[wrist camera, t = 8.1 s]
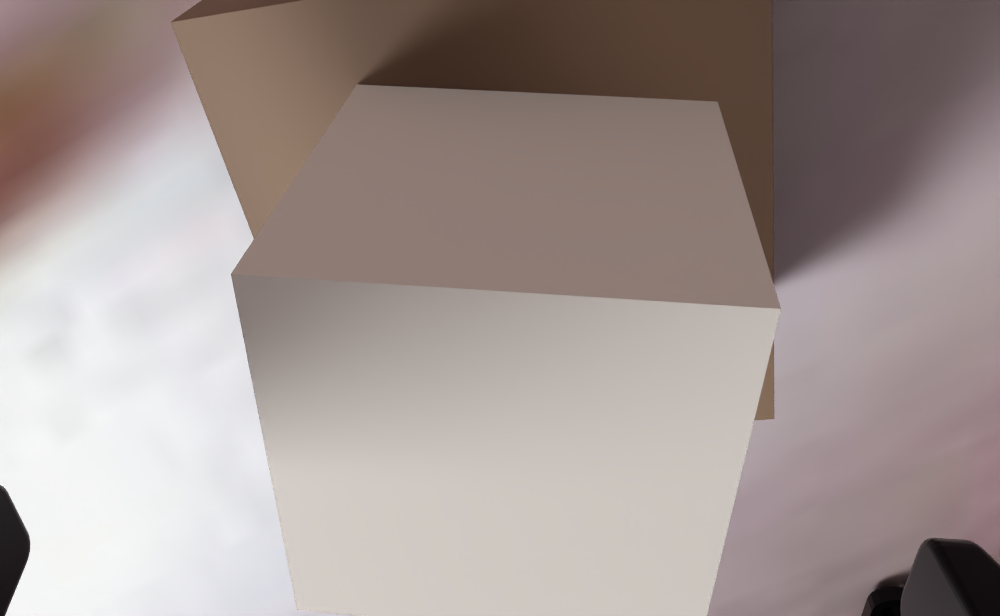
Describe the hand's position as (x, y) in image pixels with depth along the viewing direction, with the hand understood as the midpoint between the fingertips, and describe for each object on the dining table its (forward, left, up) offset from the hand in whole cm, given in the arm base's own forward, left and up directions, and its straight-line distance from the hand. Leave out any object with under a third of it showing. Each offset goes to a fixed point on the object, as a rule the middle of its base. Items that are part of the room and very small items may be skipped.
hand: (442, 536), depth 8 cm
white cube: (0, 0, -6) cm, 6 cm away
